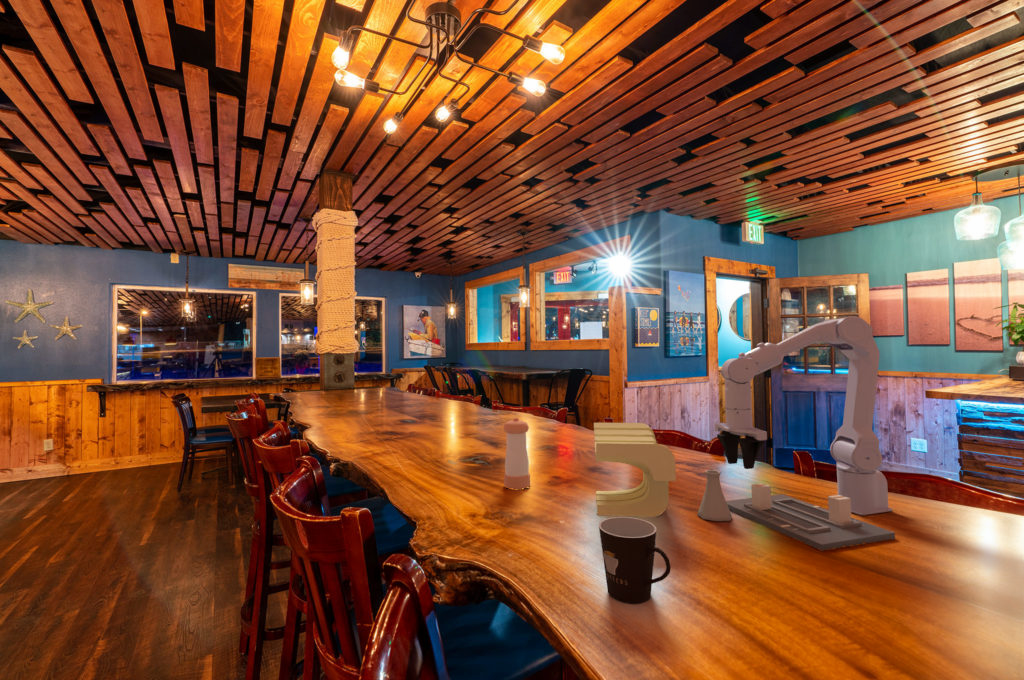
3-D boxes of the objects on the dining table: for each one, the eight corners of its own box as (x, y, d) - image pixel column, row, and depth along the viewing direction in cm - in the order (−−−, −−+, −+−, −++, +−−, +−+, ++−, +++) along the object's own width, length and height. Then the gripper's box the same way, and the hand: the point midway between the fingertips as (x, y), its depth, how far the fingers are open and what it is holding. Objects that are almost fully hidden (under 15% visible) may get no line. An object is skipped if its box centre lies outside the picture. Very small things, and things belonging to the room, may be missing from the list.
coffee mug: (594, 580, 74) (592, 518, 75) (645, 577, 75) (644, 515, 75) (616, 622, 63) (614, 547, 63) (677, 618, 63) (675, 544, 64)
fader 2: (840, 519, 96) (839, 494, 96) (851, 523, 93) (850, 497, 93) (828, 520, 95) (827, 495, 95) (840, 524, 92) (838, 499, 93)
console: (782, 499, 114) (782, 491, 114) (895, 538, 88) (894, 529, 89) (721, 506, 109) (721, 499, 109) (822, 551, 84) (821, 541, 84)
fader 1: (762, 505, 105) (762, 482, 105) (771, 508, 103) (770, 485, 103) (752, 506, 104) (751, 484, 104) (760, 510, 102) (759, 486, 102)
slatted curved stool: (677, 531, 94) (674, 444, 95) (598, 528, 97) (596, 443, 97) (655, 489, 124) (653, 422, 124) (595, 487, 126) (593, 422, 127)
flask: (736, 523, 98) (734, 476, 98) (700, 521, 99) (698, 475, 100) (727, 512, 105) (726, 468, 105) (694, 510, 107) (692, 467, 107)
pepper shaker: (530, 490, 125) (529, 419, 126) (503, 490, 125) (502, 419, 126) (529, 482, 132) (528, 415, 133) (504, 483, 132) (503, 416, 133)
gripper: (703, 406, 116) (705, 460, 115) (747, 412, 102) (750, 474, 101) (727, 404, 118) (729, 458, 117) (773, 411, 104) (775, 471, 103)
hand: (740, 465), depth 109 cm, fingers open, 5 cm apart
